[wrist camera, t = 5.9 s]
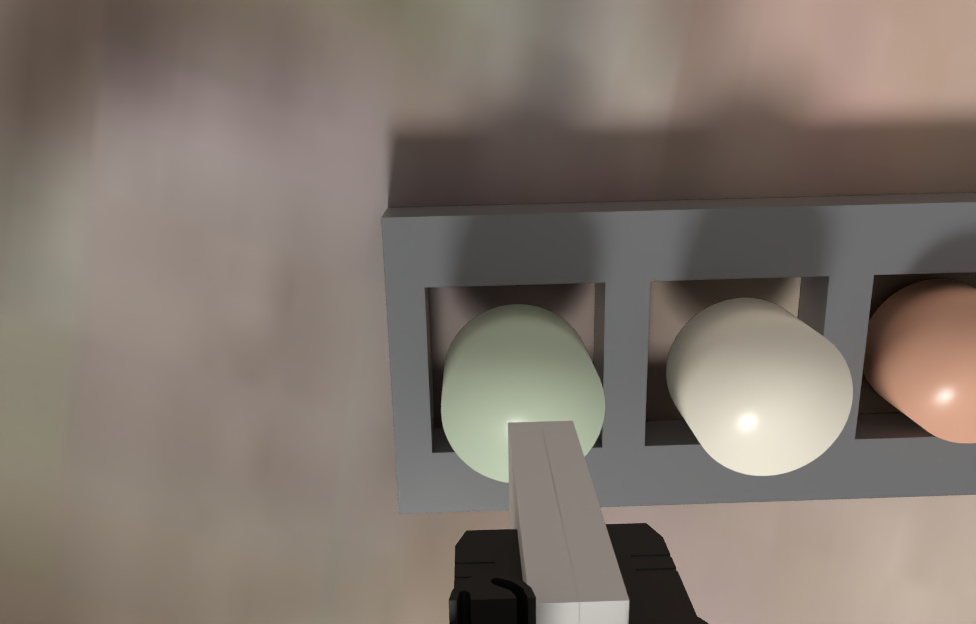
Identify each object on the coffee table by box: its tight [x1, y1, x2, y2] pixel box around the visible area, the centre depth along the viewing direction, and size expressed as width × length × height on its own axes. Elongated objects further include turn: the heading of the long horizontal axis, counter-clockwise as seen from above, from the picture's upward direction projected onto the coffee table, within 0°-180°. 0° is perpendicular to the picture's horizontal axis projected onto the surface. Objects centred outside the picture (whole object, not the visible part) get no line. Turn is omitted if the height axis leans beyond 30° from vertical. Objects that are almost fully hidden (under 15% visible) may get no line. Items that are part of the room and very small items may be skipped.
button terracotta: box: [863, 279, 976, 443], centre depth 25 cm, size 5×5×3 cm
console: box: [381, 192, 976, 514], centre depth 26 cm, size 22×10×2 cm, turn 91°
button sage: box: [441, 304, 605, 483], centre depth 23 cm, size 5×5×3 cm
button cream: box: [666, 298, 853, 476], centre depth 23 cm, size 5×5×3 cm
